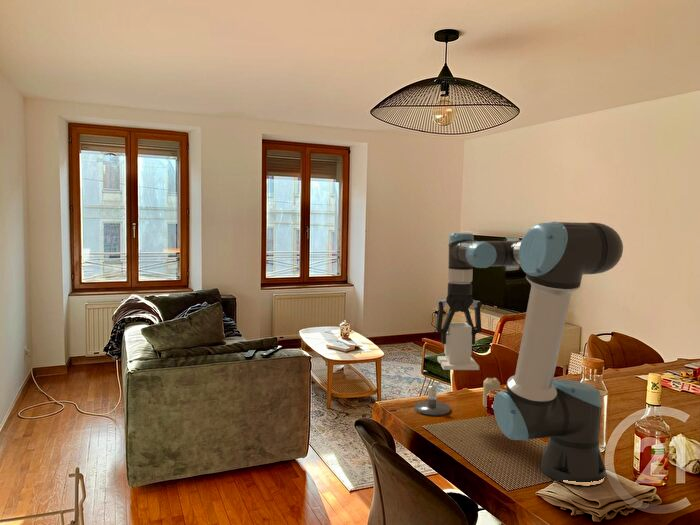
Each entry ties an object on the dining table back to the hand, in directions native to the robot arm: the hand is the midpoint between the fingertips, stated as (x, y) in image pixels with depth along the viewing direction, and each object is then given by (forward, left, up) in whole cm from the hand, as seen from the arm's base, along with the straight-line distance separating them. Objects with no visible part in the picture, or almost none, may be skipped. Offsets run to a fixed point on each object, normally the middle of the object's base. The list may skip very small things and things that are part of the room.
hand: (457, 353), depth 168 cm
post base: (+10, +6, -22) cm, 24 cm away
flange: (0, 0, -3) cm, 3 cm away
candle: (+13, -15, -22) cm, 29 cm away
